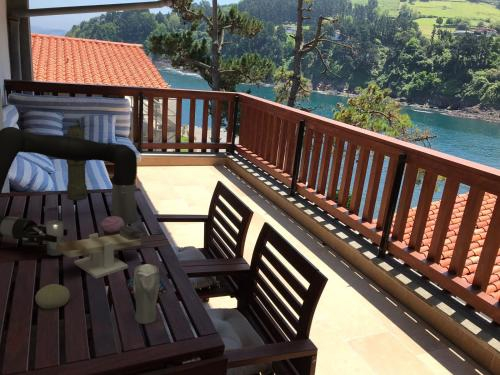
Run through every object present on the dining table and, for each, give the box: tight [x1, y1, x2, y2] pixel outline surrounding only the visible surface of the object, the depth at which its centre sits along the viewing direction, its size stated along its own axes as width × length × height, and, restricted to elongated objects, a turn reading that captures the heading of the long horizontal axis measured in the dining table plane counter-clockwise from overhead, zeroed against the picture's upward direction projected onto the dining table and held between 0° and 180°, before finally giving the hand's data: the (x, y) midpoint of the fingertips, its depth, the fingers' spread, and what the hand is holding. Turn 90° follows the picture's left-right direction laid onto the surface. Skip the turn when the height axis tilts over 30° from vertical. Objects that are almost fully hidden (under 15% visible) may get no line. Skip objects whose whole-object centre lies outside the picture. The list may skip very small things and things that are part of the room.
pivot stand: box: [74, 232, 129, 279], centre depth 153 cm, size 12×14×10 cm
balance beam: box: [56, 225, 143, 259], centre depth 152 cm, size 27×8×5 cm, turn 137°
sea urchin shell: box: [34, 283, 71, 310], centre depth 130 cm, size 9×8×8 cm
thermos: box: [65, 125, 88, 202], centre depth 216 cm, size 9×12×35 cm
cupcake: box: [100, 216, 126, 236], centre depth 173 cm, size 9×9×10 cm
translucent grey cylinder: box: [45, 219, 65, 256], centre depth 156 cm, size 6×6×11 cm
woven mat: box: [125, 278, 167, 299], centre depth 142 cm, size 10×11×2 cm
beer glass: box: [132, 263, 160, 325], centre depth 124 cm, size 7×7×15 cm
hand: (61, 235), depth 155 cm, fingers closed on translucent grey cylinder, 5 cm apart
